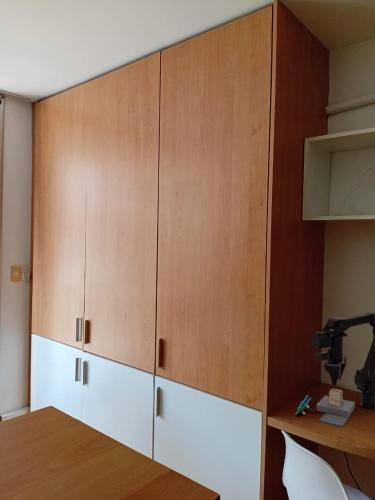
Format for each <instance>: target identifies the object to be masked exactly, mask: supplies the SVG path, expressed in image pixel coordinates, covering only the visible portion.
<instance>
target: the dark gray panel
mask: <svg viewBox="0 0 375 500" xmlns="http://www.w3.org/2000/svg"><path fill="white" fill-rule="evenodd" d="M348 420H349V417H348V418H347V417H343V416H339V415H334V414H330V413H326V412H324V414H323V415H322V416H321V418H320V419H319V420H318V421H319V422H320V423H323V424H328V425H330V426H331V425H332V426H335V427H339V428H343V427H344V426H345V424H346V423H347V422H348Z"/></svg>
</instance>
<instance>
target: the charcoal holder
mask: <svg viewBox="0 0 375 500" xmlns="http://www.w3.org/2000/svg"><path fill="white" fill-rule="evenodd" d="M355 408H356V402H355V401H352V400H348V399H343V404H342V406H341V407H340V406H336V405H331V404H329V396H328V395H324V397H322V398H321V399H320V401H319V402H317V404H316V411H318V412H322V413H328V414H332V415H337V416H341V417H345V418H348V419H349V417H350V416H351V414H352V412H353V411H354V410H355Z"/></svg>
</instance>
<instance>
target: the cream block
mask: <svg viewBox="0 0 375 500" xmlns="http://www.w3.org/2000/svg"><path fill="white" fill-rule="evenodd" d="M328 395H329V404H331V405H336V406H340V407H341V406H342V404H343V400H344V399H343V390H341V389H338V388H331V389H329V391H328Z"/></svg>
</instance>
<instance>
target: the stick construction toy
mask: <svg viewBox="0 0 375 500" xmlns="http://www.w3.org/2000/svg"><path fill="white" fill-rule="evenodd" d="M311 400H312V397H310V396H309V394H308V395H306V396H305V398H304V400H302V401H300V405H299V406H297V409H296V410H297V411H296V413H295V416H297V415H299V414H300V413H301V414H302V415H303V416H307V413H306V412H305V411H304V409H305V408H306V409H308V410H309V411H310V412H312V413H313V414H315V413H316V411H315V410H314V409H312V408H311V407H310V405H309V402H310V401H311ZM305 402H306V403H305Z"/></svg>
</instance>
